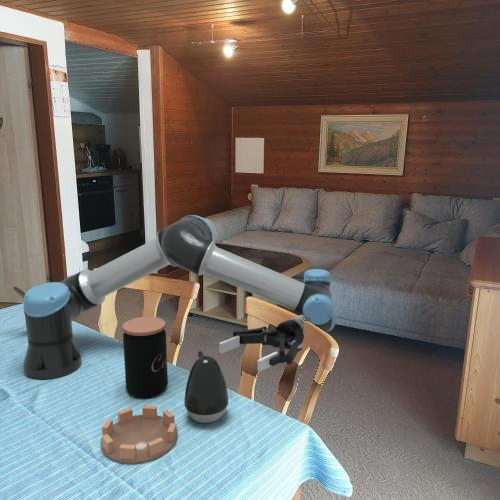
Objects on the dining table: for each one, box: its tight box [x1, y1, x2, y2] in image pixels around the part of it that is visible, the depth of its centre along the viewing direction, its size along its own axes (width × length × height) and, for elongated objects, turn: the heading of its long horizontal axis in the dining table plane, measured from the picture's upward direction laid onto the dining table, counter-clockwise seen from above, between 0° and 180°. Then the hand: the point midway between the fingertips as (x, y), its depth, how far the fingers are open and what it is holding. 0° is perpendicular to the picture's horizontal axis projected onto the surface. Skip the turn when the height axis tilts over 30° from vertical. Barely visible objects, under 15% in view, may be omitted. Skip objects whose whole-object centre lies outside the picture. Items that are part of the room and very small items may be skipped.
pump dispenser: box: [183, 350, 229, 424], centre depth 105 cm, size 10×10×15 cm
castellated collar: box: [100, 405, 179, 465], centre depth 98 cm, size 16×16×3 cm
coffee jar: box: [122, 316, 169, 399], centre depth 116 cm, size 11×11×18 cm
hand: (238, 356), depth 111 cm, fingers open, 13 cm apart
